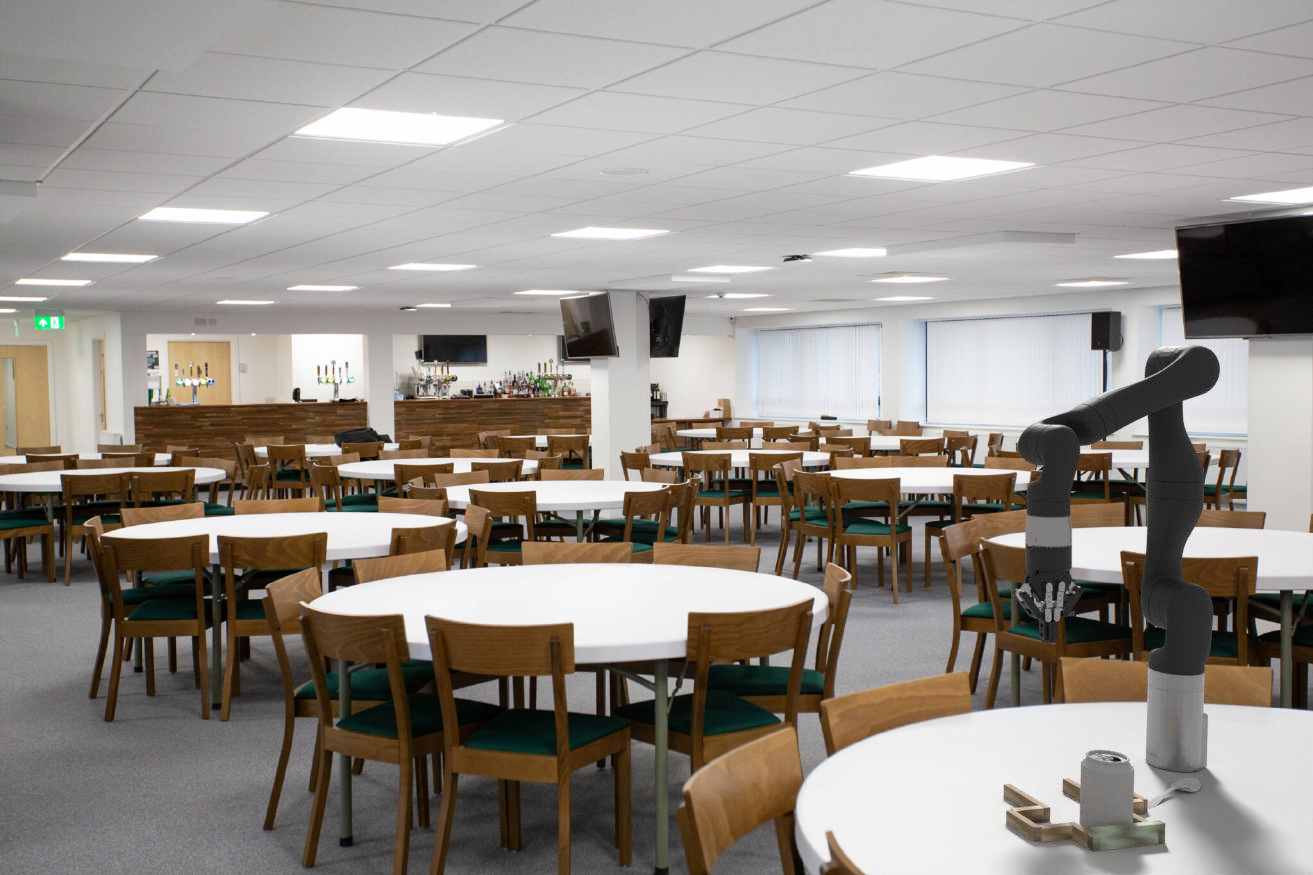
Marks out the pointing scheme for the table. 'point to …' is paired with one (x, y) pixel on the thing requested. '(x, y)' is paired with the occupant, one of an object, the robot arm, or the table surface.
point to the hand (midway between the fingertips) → (1048, 642)
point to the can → (1106, 789)
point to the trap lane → (1036, 827)
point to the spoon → (1187, 782)
